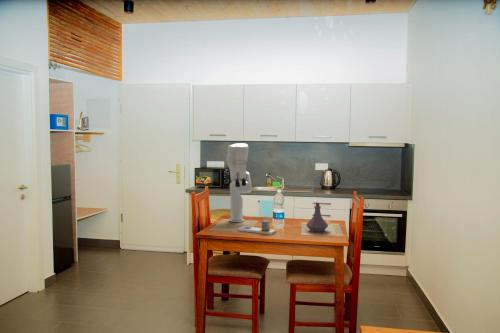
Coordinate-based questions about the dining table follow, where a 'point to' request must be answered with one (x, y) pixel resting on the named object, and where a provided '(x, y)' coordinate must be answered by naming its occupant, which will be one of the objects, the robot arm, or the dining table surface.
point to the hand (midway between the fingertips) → (240, 186)
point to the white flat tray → (256, 230)
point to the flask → (317, 221)
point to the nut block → (265, 225)
